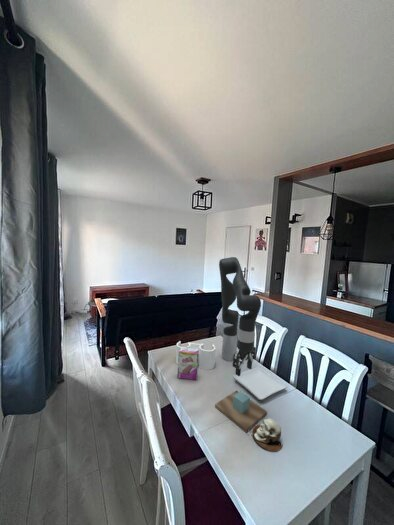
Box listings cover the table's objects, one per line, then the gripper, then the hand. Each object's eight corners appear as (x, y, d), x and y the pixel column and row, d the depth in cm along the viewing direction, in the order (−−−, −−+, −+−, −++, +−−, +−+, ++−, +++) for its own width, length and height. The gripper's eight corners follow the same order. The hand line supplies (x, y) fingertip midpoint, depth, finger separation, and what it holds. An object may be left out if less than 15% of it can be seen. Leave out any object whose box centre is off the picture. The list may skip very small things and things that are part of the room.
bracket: (174, 365, 138) (174, 347, 137) (177, 357, 148) (178, 340, 147) (213, 370, 135) (215, 352, 134) (214, 362, 145) (215, 344, 143)
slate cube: (239, 401, 108) (240, 391, 107) (249, 408, 104) (250, 397, 103) (232, 406, 104) (233, 395, 104) (242, 413, 100) (242, 402, 100)
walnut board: (236, 393, 116) (236, 390, 116) (266, 414, 103) (267, 411, 102) (215, 407, 106) (215, 404, 105) (246, 432, 92) (246, 429, 92)
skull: (258, 452, 83) (254, 418, 89) (251, 450, 91) (247, 419, 97) (290, 451, 83) (283, 418, 90) (280, 448, 92) (274, 418, 98)
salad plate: (287, 391, 120) (288, 385, 119) (260, 405, 108) (260, 399, 108) (257, 371, 138) (258, 365, 137) (231, 381, 126) (232, 375, 126)
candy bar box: (177, 378, 126) (178, 351, 124) (178, 373, 131) (179, 347, 129) (196, 380, 125) (198, 353, 123) (197, 375, 129) (199, 348, 128)
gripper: (248, 331, 108) (246, 363, 110) (229, 339, 99) (227, 373, 100) (262, 337, 102) (259, 370, 104) (243, 345, 93) (240, 382, 95)
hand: (243, 371), depth 102 cm, fingers open, 8 cm apart
